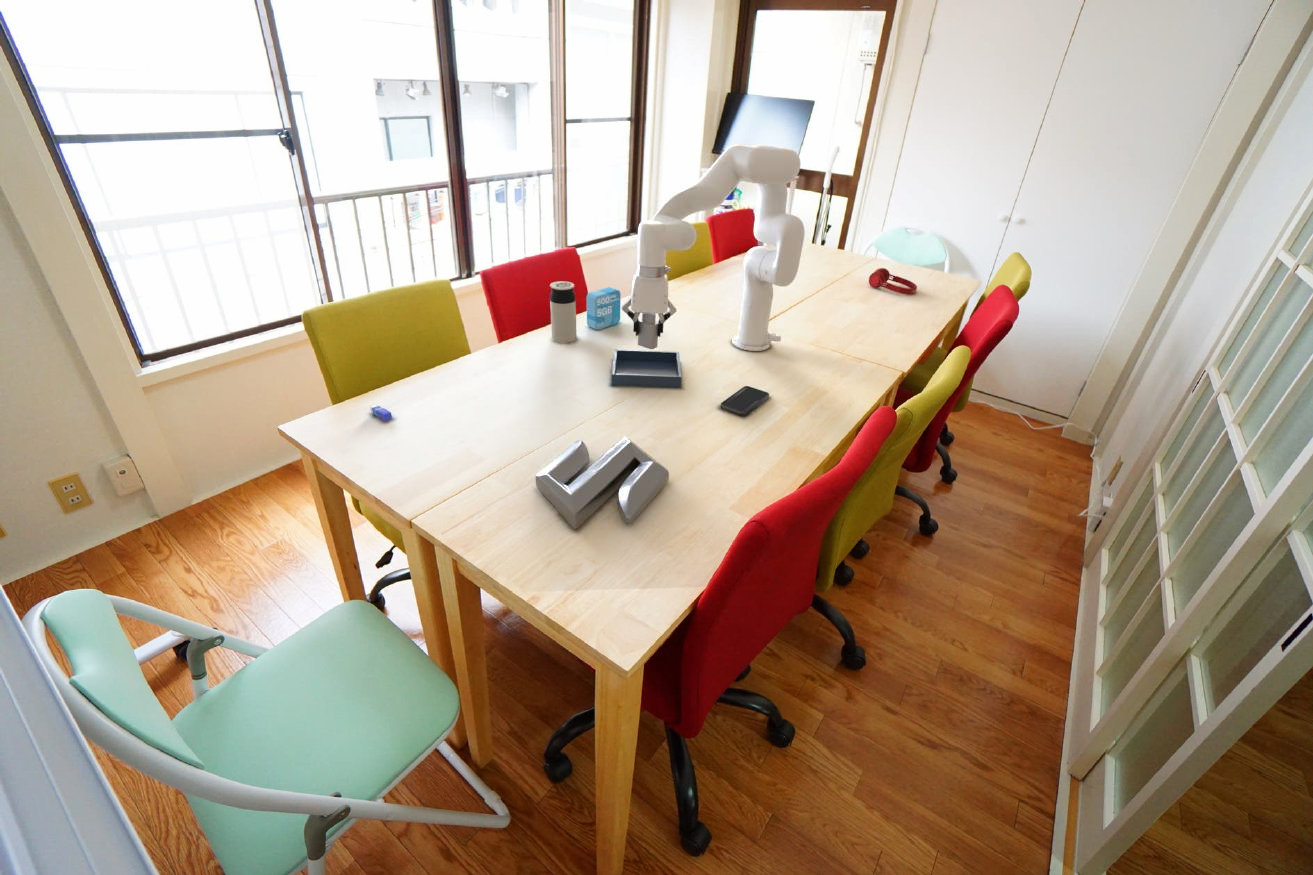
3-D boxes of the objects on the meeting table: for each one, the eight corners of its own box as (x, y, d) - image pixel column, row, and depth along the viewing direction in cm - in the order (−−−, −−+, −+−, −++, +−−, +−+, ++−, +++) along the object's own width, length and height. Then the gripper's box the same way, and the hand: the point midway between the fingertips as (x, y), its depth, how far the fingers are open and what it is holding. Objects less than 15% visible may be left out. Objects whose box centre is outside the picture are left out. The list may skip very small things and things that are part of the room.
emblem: (677, 507, 109) (527, 509, 106) (675, 529, 112) (529, 531, 109) (663, 430, 132) (540, 430, 130) (662, 450, 135) (542, 450, 133)
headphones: (864, 286, 255) (908, 302, 248) (870, 271, 251) (915, 286, 244) (872, 279, 266) (915, 294, 259) (878, 264, 262) (922, 279, 255)
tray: (678, 362, 178) (678, 351, 176) (680, 388, 163) (681, 377, 161) (614, 360, 177) (614, 349, 175) (611, 386, 162) (611, 374, 160)
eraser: (379, 411, 144) (377, 403, 143) (392, 419, 141) (391, 411, 140) (371, 413, 143) (369, 406, 142) (385, 422, 140) (383, 414, 139)
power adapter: (643, 341, 168) (644, 301, 161) (658, 346, 165) (660, 305, 159) (636, 344, 165) (638, 304, 159) (652, 349, 163) (654, 308, 157)
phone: (719, 404, 153) (745, 385, 164) (718, 408, 154) (745, 388, 164) (745, 413, 150) (771, 393, 160) (744, 417, 150) (770, 397, 161)
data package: (595, 331, 197) (595, 296, 190) (586, 327, 199) (585, 293, 193) (620, 322, 204) (620, 289, 198) (611, 319, 207) (611, 286, 201)
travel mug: (581, 337, 191) (579, 283, 182) (568, 345, 185) (566, 290, 176) (560, 332, 194) (558, 279, 184) (547, 340, 188) (544, 285, 178)
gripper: (682, 268, 158) (677, 331, 167) (619, 265, 157) (618, 328, 166) (683, 276, 151) (678, 341, 161) (618, 273, 151) (617, 338, 160)
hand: (648, 334), depth 163 cm, fingers closed on power adapter, 5 cm apart
